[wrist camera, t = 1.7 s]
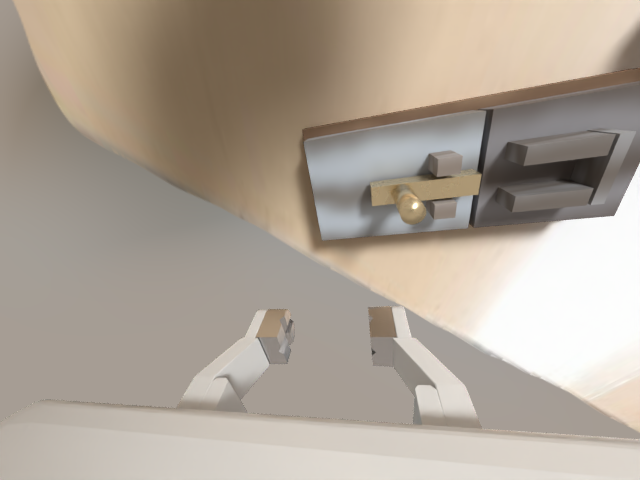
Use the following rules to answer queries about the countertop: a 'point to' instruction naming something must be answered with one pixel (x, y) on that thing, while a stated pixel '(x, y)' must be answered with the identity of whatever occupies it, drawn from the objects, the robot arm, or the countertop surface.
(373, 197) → the bolt
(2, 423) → the robot arm
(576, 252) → the countertop surface
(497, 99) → the sliding barrel latch
